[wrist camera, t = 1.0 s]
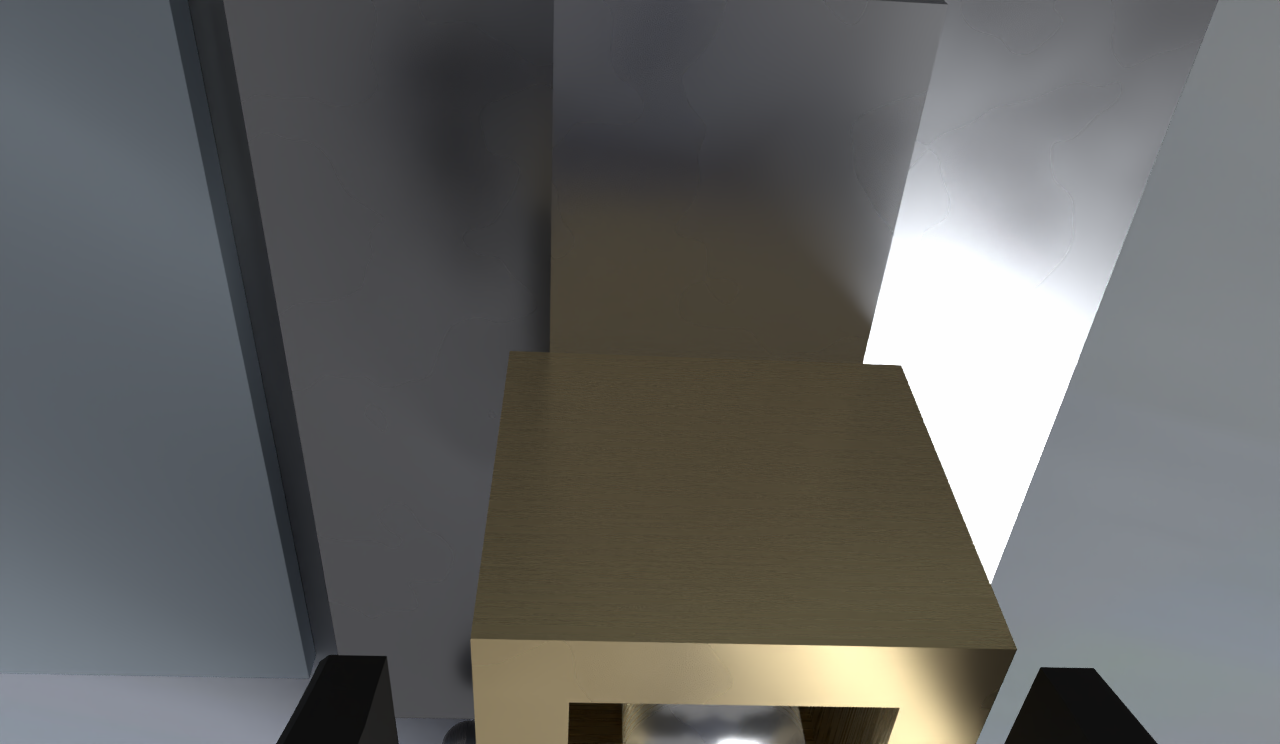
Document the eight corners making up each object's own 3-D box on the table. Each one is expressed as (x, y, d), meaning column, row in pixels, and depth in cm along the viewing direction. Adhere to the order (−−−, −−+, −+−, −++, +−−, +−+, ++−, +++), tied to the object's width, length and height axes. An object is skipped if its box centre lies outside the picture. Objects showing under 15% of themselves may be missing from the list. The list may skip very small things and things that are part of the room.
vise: (917, 665, 22) (1034, 1054, 16) (364, 655, 21) (267, 1057, 15) (1200, -140, 13) (1743, 60, 7) (231, -205, 12) (-149, -47, 6)
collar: (832, 622, 16) (901, 916, 12) (514, 616, 16) (486, 914, 12) (901, 364, 13) (1017, 648, 9) (510, 351, 13) (470, 638, 9)
